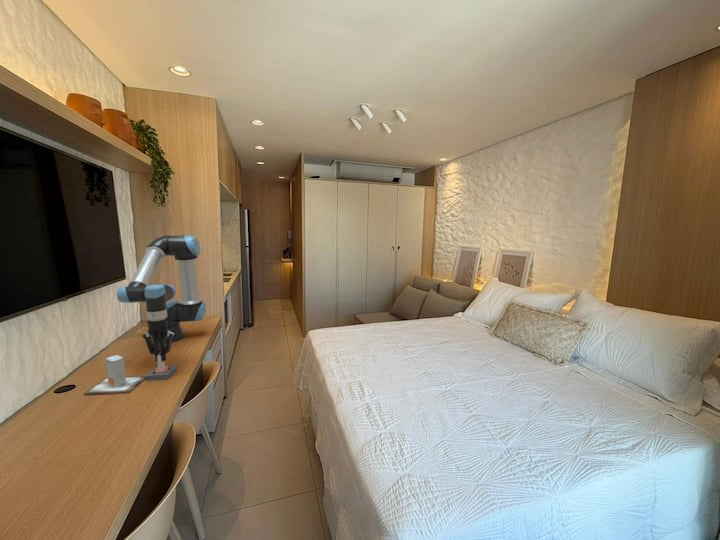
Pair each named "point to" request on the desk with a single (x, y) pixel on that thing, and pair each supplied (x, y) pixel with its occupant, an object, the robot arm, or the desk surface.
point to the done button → (161, 369)
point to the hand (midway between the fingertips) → (161, 367)
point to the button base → (161, 374)
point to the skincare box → (115, 370)
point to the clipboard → (109, 389)
